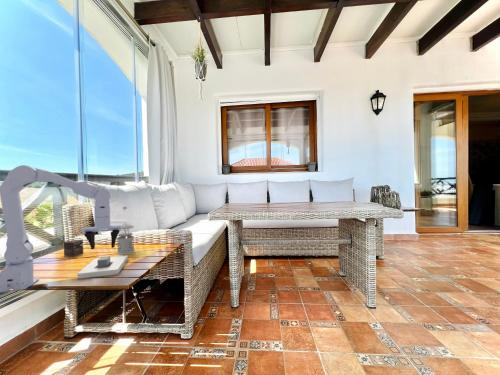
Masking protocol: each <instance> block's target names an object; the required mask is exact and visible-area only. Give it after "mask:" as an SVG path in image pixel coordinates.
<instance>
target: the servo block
mask: <svg viewBox="0 0 500 375" xmlns="http://www.w3.org/2000/svg"><path fill="white" fill-rule="evenodd" d="M110 257H111V256H101V257H99V258H100V259H99V260H97V262H98V268H104V267H109V266H110Z"/></svg>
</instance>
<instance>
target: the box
mask: <svg viewBox="0 0 500 375" xmlns="http://www.w3.org/2000/svg"><path fill="white" fill-rule="evenodd" d="M63 254H64V257H76V256H78V255H81V254H84V240H83V239H73V240H67V241H64V242H63Z"/></svg>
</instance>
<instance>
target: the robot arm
mask: <svg viewBox="0 0 500 375" xmlns="http://www.w3.org/2000/svg"><path fill="white" fill-rule="evenodd" d="M36 182H51V183H53V184H56V185H60V186H63V187H66V188H68V189H71V190H72V192H73V194H75V195H79V196H81V197H83V198H88V199H90V200H92V199H94V206H93V207H94V208H93V209H94V210H93V211H94V212H93V213H94V215H93V216H94V226H89V227H88V226H87V227H83V228H82V234H84V237H85V238H86V239H87V242H88V244H89V246H90V250H94V249H95V247H96V242H95V239H96V238H95V236H96V233H97V232H110V238H111V240H110V241H111V243H110V244H111V245H110V246H111V248H112V249H114V248H115V246H116V243H117V242H116V241H117V238H118V237H119V236H118V235H119V233H120V231H122V230H123V229H122V225H123V224H121V225H111V206H110V199H111V194H110V192H109V191H108V190H107V189H104V188H101V186H99V185H97V186H96V185H95V184H92V183H89V181H88V180H78V181H74V180H71V179H69V178H67V177H64V176H62V175H59V174H57V173H54V172H52V171H49V170H45V169H40V168H36V167H32V166H30V165H25V164H24V165H22V164H21V165H18V166H16V167H14V168H13V169H11V170H9V171H8V173H7V175H6V177H5V179H4V180H3V182H2V183H1V185H0V202H1V208H2V214H3V220H4V224H5V230H6V232H5V233H6V238H7V239H6V243H5V244H6V245H5V246H6V249H5V252H4V255H3V257H4V259H5V266H4V268H3V269H1V270H0V293H6V292H15V291H24V290H26V289H28V288H29V287H30V286H32V285H33V284H35V283H36V282H38V281H39V280H40V278H39V277H37V278H34V257H33V256H32V255H31V254H32V253H33V252H34V245H33V243H32V242H30V239H29V236H28V234H27V231H26V230H27V229H26V225H25V219H24V214H23V208H22V202H21V195H20V193H21V191H22V190H24V189H25V188H26V187H27V186H29V185H31V184H34V183H36ZM10 289H13V290H10Z"/></svg>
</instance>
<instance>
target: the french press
mask: <svg viewBox="0 0 500 375" xmlns="http://www.w3.org/2000/svg"><path fill="white" fill-rule="evenodd" d="M122 209H123V210H127V209H128V208H127V206H123V207H122ZM121 225H122V230H124V233H123V232H122V233H120V234H118V236H117V238H116V241H117V242H116V243H117V251H116V252H115V255H119V256H126V255H130V254H133V253H132V252H134V251H135V250H136V249H135V247H134V244H135V243H134V242H135V241H134V236H133V233H132V232H129V229H133V228H134V226H133V225H132V224H128V223H124V224H121ZM135 252H136V251H135ZM135 252H134V253H135ZM129 253H130V254H129Z"/></svg>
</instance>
